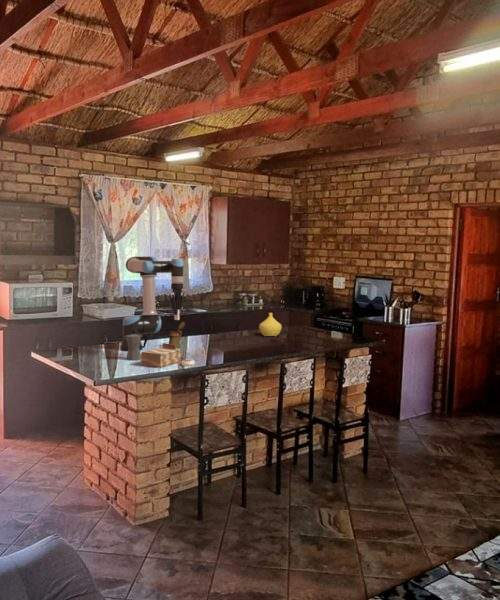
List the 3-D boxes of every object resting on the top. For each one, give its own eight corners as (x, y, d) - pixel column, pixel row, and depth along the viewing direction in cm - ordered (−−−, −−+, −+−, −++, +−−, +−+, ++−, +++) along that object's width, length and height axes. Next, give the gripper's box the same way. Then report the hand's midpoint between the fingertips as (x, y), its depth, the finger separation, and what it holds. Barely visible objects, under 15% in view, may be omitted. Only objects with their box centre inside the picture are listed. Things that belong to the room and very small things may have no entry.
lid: (161, 348, 353) (161, 342, 353) (179, 350, 347) (179, 344, 346) (142, 353, 336) (142, 347, 336) (161, 355, 330) (161, 349, 329)
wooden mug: (188, 346, 403) (188, 322, 401) (172, 348, 394) (172, 323, 392) (180, 344, 409) (180, 320, 408) (165, 347, 400) (165, 322, 398)
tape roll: (186, 363, 345) (186, 359, 345) (197, 364, 341) (197, 360, 341) (178, 365, 338) (178, 361, 338) (189, 366, 334) (189, 362, 334)
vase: (270, 333, 472) (271, 311, 470) (285, 336, 458) (286, 313, 456) (254, 335, 460) (254, 312, 458) (269, 338, 446) (269, 314, 444)
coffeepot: (121, 360, 350) (121, 332, 348) (125, 357, 359) (125, 329, 358) (146, 360, 350) (146, 332, 348) (149, 357, 359) (149, 330, 358)
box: (160, 359, 354) (160, 346, 353) (180, 362, 347) (180, 349, 346) (140, 365, 336) (140, 351, 336) (160, 368, 330) (160, 354, 329)
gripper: (178, 282, 360) (177, 318, 362) (166, 283, 348) (165, 320, 351) (187, 282, 356) (187, 319, 359) (176, 283, 345) (175, 321, 347)
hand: (176, 319), depth 355 cm, fingers closed
